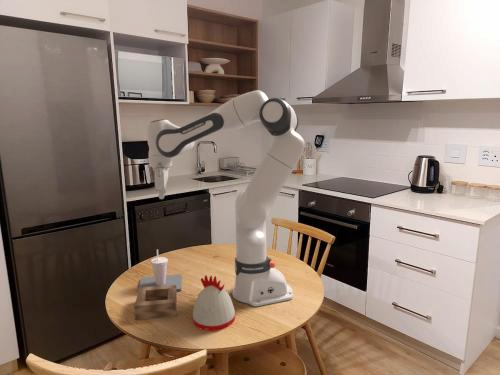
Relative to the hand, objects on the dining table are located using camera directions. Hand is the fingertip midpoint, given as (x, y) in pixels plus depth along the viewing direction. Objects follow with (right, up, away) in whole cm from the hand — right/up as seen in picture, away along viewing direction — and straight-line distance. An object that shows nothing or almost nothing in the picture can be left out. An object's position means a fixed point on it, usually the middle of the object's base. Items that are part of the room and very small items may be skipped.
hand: (162, 196), depth 146 cm
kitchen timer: (+23, -40, -25) cm, 53 cm away
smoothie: (0, -34, -2) cm, 34 cm away
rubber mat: (0, -35, -2) cm, 35 cm away
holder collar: (+3, -39, -19) cm, 43 cm away
